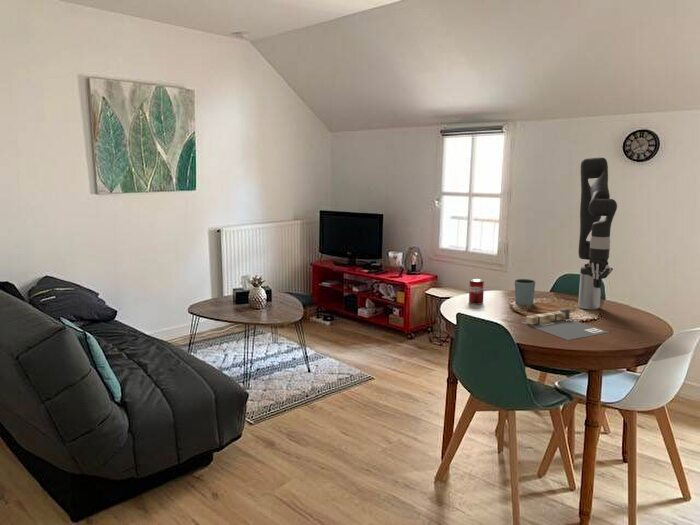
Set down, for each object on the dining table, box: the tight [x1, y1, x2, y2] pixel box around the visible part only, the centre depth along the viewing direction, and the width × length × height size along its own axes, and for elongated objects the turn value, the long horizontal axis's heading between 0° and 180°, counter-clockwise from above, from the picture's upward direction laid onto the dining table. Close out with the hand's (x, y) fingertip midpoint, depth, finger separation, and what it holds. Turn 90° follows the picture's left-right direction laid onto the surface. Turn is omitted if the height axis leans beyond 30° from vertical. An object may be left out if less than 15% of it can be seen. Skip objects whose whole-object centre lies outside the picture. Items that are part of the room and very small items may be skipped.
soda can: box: [468, 278, 485, 305], centre depth 277 cm, size 7×7×12 cm
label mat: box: [519, 320, 610, 341], centre depth 235 cm, size 24×28×1 cm
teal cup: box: [514, 278, 536, 306], centre depth 275 cm, size 10×10×12 cm
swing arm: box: [525, 307, 571, 325], centre depth 244 cm, size 23×4×4 cm, turn 114°
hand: (596, 287), depth 226 cm, fingers closed
